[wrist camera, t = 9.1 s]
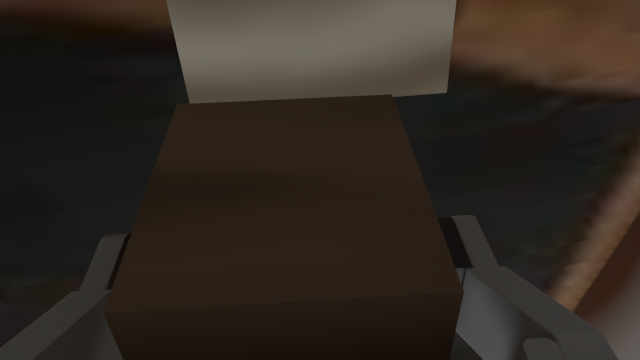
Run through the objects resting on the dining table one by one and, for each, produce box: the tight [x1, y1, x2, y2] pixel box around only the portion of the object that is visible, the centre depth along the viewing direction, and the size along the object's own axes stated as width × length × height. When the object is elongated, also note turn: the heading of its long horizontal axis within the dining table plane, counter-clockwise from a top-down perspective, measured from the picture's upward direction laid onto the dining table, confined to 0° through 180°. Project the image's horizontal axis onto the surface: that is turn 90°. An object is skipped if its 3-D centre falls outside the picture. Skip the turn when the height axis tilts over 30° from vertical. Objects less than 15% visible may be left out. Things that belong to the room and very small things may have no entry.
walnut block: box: [103, 94, 464, 360], centre depth 11 cm, size 5×5×6 cm
